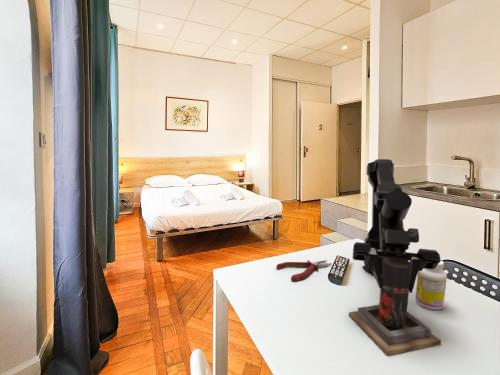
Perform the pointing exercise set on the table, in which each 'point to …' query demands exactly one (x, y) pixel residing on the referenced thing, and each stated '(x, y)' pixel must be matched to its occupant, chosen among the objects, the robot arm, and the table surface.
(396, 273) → the deodorant
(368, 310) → the socket board
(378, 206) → the robot arm
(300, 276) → the pliers
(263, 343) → the table surface
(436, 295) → the supplement bottle
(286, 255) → the table surface
